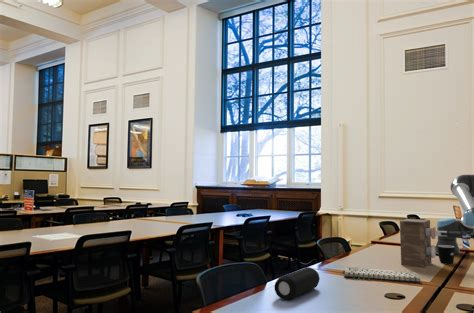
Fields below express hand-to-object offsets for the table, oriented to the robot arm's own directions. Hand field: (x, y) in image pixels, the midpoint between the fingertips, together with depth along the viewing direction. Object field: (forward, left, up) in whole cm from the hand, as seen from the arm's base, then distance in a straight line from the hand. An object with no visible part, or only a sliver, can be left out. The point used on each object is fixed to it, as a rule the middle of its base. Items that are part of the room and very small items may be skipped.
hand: (435, 233), depth 226 cm
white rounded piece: (+1, -7, -15) cm, 16 cm away
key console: (+2, -11, -19) cm, 22 cm away
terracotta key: (+1, -6, -4) cm, 7 cm away
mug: (-16, 0, -20) cm, 25 cm away
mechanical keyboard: (+46, -10, -20) cm, 51 cm away
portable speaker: (+101, -18, -20) cm, 105 cm away
